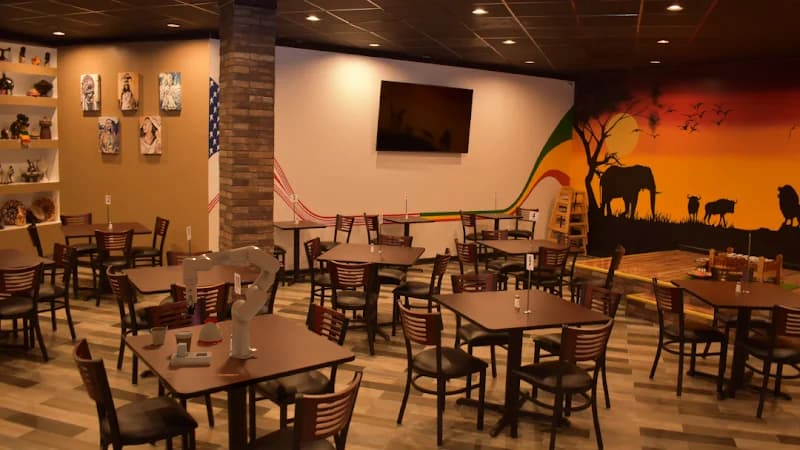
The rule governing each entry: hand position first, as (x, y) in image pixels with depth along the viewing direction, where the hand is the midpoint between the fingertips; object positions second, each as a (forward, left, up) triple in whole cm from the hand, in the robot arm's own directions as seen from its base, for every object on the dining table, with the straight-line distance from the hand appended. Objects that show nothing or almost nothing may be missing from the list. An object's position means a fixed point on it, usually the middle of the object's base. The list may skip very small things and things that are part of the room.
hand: (191, 312), depth 363 cm
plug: (+4, +5, -26) cm, 27 cm away
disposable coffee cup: (+5, -14, -27) cm, 31 cm away
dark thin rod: (-2, +12, -27) cm, 29 cm away
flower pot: (+21, -35, -27) cm, 50 cm away
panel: (-1, +5, -27) cm, 27 cm away
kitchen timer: (-8, -39, -27) cm, 49 cm away
